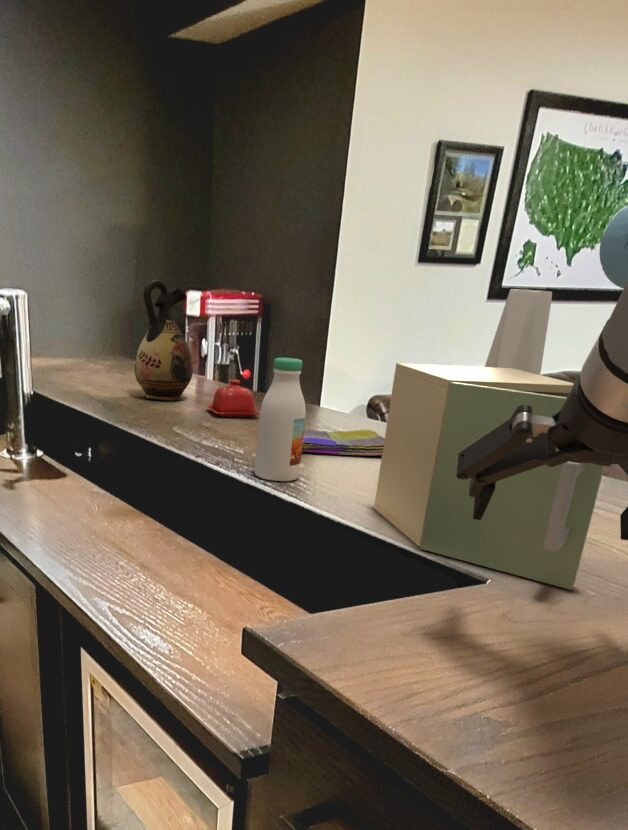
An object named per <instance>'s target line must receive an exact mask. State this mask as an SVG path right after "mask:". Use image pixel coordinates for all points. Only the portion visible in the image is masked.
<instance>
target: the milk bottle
mask: <svg viewBox="0 0 628 830" xmlns="http://www.w3.org/2000/svg"><path fill="white" fill-rule="evenodd" d="M302 369H303V360H302V359H299V358H294V357H292V358H291V357H275V358H274V360H273V372H274V373H273V379H272V381H271V384H270V386H269V388H268V390H267V392H266V393H265V395H264V397H263V399H262V402H261V406H260V411H259V412H260V414H259V419H258V428H257V436H256V437H257V438H256V447H255V448H256V449H255V457H254V469H253V471H254V474H255V476H257V478H261V479H263V480H267V481H274V482H291V481H295V480H297V479H298V478H299V475H300V470H301V461H302V453H303V452H302V445H303V436H304V429H305V427H306V412H307V410H306V409H307V408H306V402H305V401H306V400H305V398H304V395H303V392H302V388H301V383H300V375H301V374H302Z"/></svg>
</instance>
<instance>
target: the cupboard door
mask: <svg viewBox="0 0 628 830" xmlns="http://www.w3.org/2000/svg"><path fill="white" fill-rule="evenodd" d="M566 398H567V397H560V396H553V395H545V394H538V393H531V392H523V391H516V390H509V389H501V388H494V387H487V386H479V385H472V384H465V383H457V382H452V383H451V384H450V390H449V395H448V401H447V406H446V412H445V417H444V423H443V429H442V434H441V440H440V445H439V451H438V456H437V462H436V468H435V473H434V479H433V484H432V490H431V495H430V501H429V507H428V512H427V518H426V523H425V529H424V534H423V540H422V546H421V547H420V550H423V551H427V552H431V553H435V554H438V555H441V556H445V557H449V558H452V559H456V560H459V561H462V562H463V561H464V562H466V563H471V564H474V565H477V566H482V567H485V568H489V569H492V570H495V571H500V572H503V573H507V574H511V575H514V576H518V577H522V578H525V579H528V580H529V579H530V580H533V581H537V582H540V583H544V584H547V585H551V586H555V587H558V588H562V589H565V590H568V591H569V590H570V591H572V590H573V589H574V587H575V583H576V579H577V576H578V572H579V567H580V563H581V560H582V557H583V552H584V548H585V545H586V541H587V536H588V533H589V529H590V524H591V522H592V521H591V520H592V517H593V514H594V509H595V505H596V503H597V498H598V495H599V490H600V486H601V484H602V483H601V482H602V479H603V475H604V470H605V467H606V466H601V465H597V464H593V463H575V462H570V461H569V462H566V463H563V464H560V465H557V466H554V467H548V466H547V465H543V466H540V467H537V468H534V469H531V470H528V471H525V472H522V473H519V474H516V475H514V476H511V477H508V478H505V479H502V480H499V481H496V484H495V490H494V493H493V495H492V497H491V499H490V501H489V503H488V506H487V508H486V510H485V512H484V514H483V516H482V519H481V520H476V519H473V513H474V500H475V497H470V495H469V486H470V480H471V478H469V479H465V480H463V479H459V478H457V477H456V475H457V463H458V454H459V453H460V452H461V451H463V450H464V449H466V448H467V447H469V446H470V445H472V444H473V443H475V442H476V441H478V440H479V439H481V438H482V437H484V436H485V435H487V434H488V433H490V432H491V431H493V430H494V429H496V428H497V427H499V426H500V425H502V424H503V423H505V422H506V421H508V420H509V419H510V418H511V417H512V415H513V413H514V412H515V410H516V409H517V407H519V406H521V405H529V406H531V407H532V414H534V415H540V416H546V417H551V416H552V415H553V414H555V413H557V412H558V411H560V410H561V409H562V407H563V404H564V402H565V400H566ZM537 435H539V434H537ZM537 435H536V436H537ZM534 437H535V436H534ZM557 451H559V450H558V449H557V447H556V452H557Z"/></svg>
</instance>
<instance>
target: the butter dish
mask: <svg viewBox="0 0 628 830" xmlns="http://www.w3.org/2000/svg"><path fill="white" fill-rule="evenodd" d="M229 383H230V385H226V386H221V387H219V388H217V389H216V390H215V392H214V395H213V399H212V404H206V405H205V406H206V407H207V408H208V409H209V410H211V411H212V412H213V413H214V414H216V415H219V416H221V417H233V418H235V417H236V418H239V417H240V418H251V417H252V416H258V415H260V411H259V410H258V409H256V408H255V402H254V396H253V393H252V391H250V390H249V389H248V388H246V387H242V386H240V384H241V381H240V379H237V378H233V379H230V380H229Z"/></svg>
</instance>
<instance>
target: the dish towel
mask: <svg viewBox="0 0 628 830" xmlns="http://www.w3.org/2000/svg"><path fill="white" fill-rule="evenodd" d="M384 440H385V437H383V436H382V435H379V434H378V433H377V432H376V430H375V431H374V430H372V429H359V430H356V429H355V430H347V431H344V430H342V431H340V430H339V431H337V430H333V431H327V430H315V429H308V428H307V429H306V428H304V436H303V445H302V453H317V454H327V455H329V454H330V455H342V456H343V455H346V456H364V457H365V456H366V457H371V456H372V457H373V456H375V457H382V453H383V446H384Z"/></svg>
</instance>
